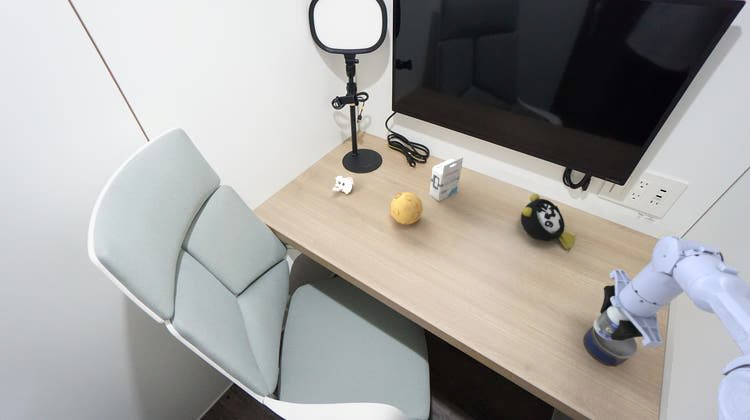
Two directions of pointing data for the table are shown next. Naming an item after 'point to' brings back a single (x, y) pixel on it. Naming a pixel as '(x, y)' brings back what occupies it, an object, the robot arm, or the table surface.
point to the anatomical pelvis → (347, 184)
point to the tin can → (609, 348)
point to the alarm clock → (545, 222)
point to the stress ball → (406, 208)
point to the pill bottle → (609, 322)
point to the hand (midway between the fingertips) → (610, 325)
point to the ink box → (445, 179)
